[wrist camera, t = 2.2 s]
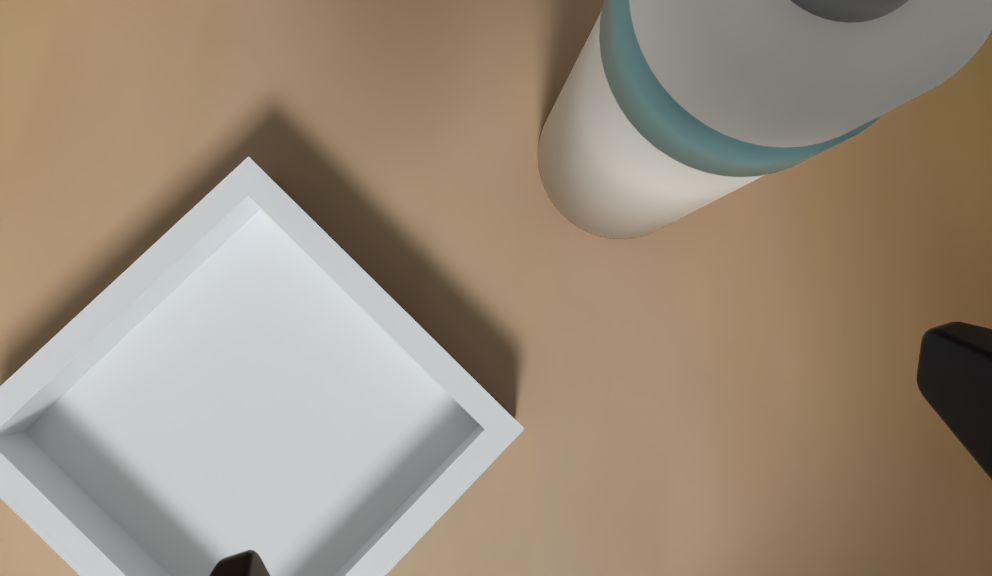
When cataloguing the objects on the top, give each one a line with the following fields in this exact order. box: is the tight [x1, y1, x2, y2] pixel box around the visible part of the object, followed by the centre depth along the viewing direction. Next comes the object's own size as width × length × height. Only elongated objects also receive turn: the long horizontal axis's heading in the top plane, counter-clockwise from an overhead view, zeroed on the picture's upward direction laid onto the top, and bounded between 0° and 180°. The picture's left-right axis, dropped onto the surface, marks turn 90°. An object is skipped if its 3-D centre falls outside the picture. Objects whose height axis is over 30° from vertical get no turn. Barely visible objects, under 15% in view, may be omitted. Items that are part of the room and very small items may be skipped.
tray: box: [0, 156, 524, 576], centre depth 21 cm, size 11×11×2 cm
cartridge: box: [538, 0, 992, 239], centre depth 17 cm, size 6×6×14 cm
